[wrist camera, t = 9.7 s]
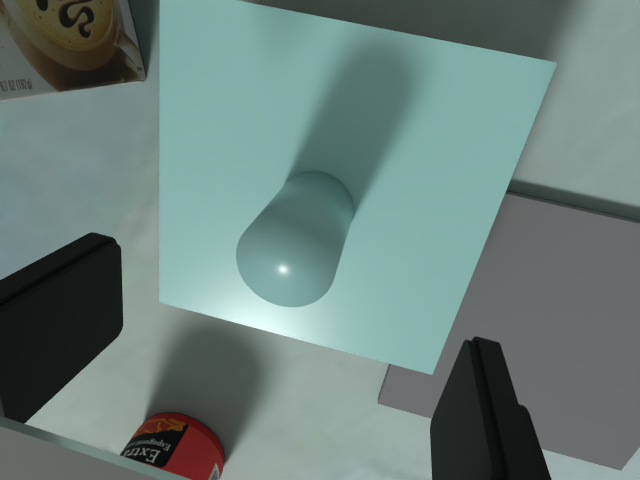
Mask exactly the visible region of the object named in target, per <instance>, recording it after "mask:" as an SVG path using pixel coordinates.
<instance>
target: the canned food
mask: <svg viewBox="0 0 640 480" xmlns="http://www.w3.org/2000/svg"><path fill="white" fill-rule="evenodd" d="M120 456H123V457H126V458H129V459H132V460H135V461H138V462H141V463H144V464H147V465H150V466H153V467H156V468H159V469H162V470H164V471H167V472H170V473H173V474H176V475H179V476H182V477H185V478H188V479H191V480H219V479H220V477H221V474H222V471H223V465H224V452H223V448H222V446H221V443H220V442H219V440H218V439H217V437H216V436H215V435H214V434H213V433H212V432H211V430H210V429H208V428H207V427H206V426H205V425H203V424H202V423H200V422H199V421H197V420H195V419H193V418H191V417H188V416H185V415H182V414H177V413H161V414H157V415H155V416H153V417H151V418H150V419H148V420H147V421H146V422H145V423H143V424H142V425H141V426H140V427H139V428H138V430H137V431H136V433H135V434H134V435H133V437H132V438H131V440H130V441H129V443H128V444H127V445H126V447H125V448H124V450H123V451H122V452H121V454H120Z"/></svg>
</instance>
